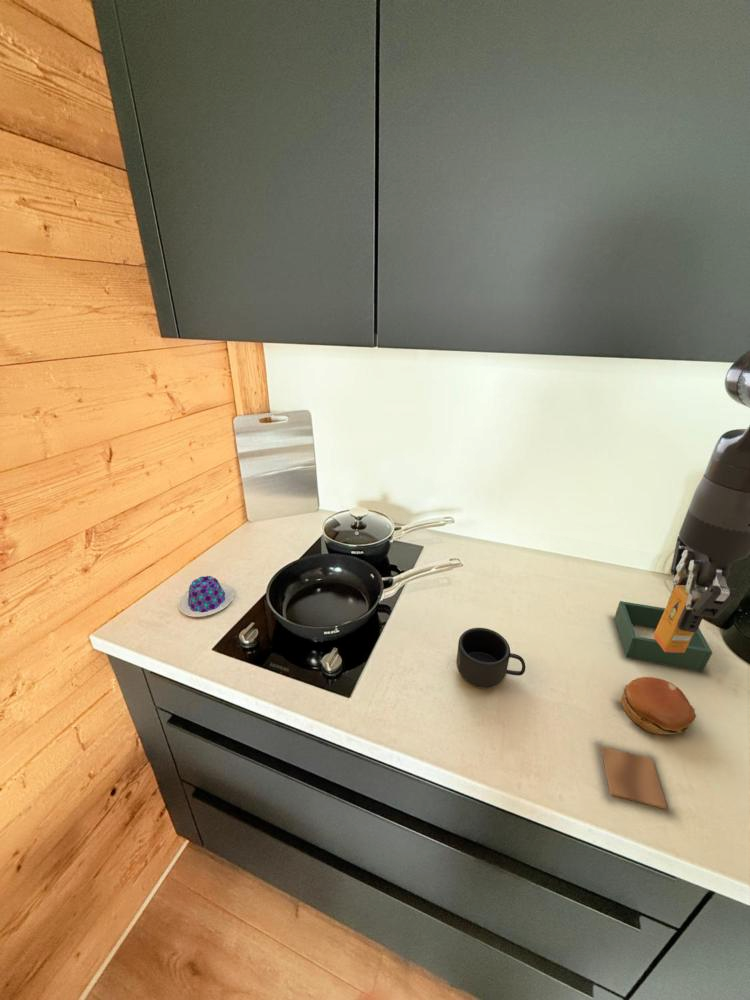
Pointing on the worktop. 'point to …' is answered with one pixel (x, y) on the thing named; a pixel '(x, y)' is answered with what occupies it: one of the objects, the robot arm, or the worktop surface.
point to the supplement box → (674, 623)
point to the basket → (649, 648)
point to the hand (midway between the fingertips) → (680, 617)
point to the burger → (657, 706)
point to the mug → (484, 658)
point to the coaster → (633, 777)
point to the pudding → (205, 597)
